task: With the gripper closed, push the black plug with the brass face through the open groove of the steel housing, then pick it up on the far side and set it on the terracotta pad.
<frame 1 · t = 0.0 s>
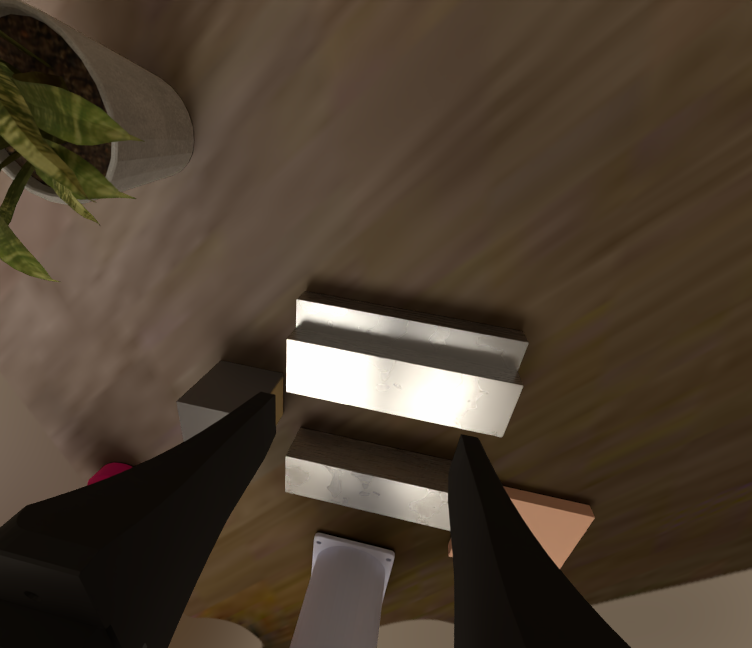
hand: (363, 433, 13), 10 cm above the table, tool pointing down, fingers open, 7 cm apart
housing: (389, 417, 25), on the table
plug: (253, 387, 26), on the table
house plant: (147, 149, 20), on the table
pepper mill: (132, 481, 35), on the table
pad: (512, 526, 28), on the table
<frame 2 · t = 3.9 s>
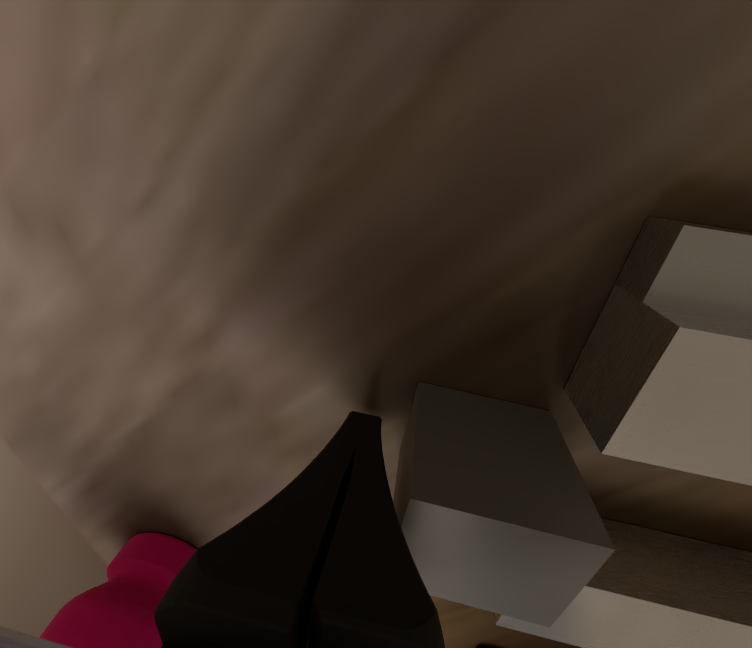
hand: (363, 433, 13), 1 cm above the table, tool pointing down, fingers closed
housing: (721, 488, 13), on the table
plug: (468, 434, 13), on the table, touching gripper
pepper mill: (175, 558, 22), on the table
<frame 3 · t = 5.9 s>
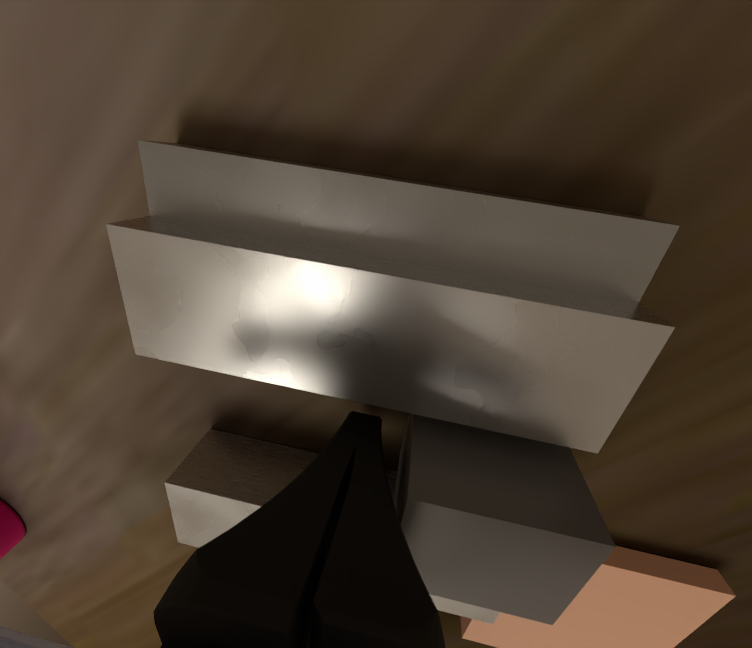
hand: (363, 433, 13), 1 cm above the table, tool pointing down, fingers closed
housing: (361, 411, 14), on the table
plug: (468, 432, 13), on the table, touching gripper
pad: (570, 596, 17), on the table
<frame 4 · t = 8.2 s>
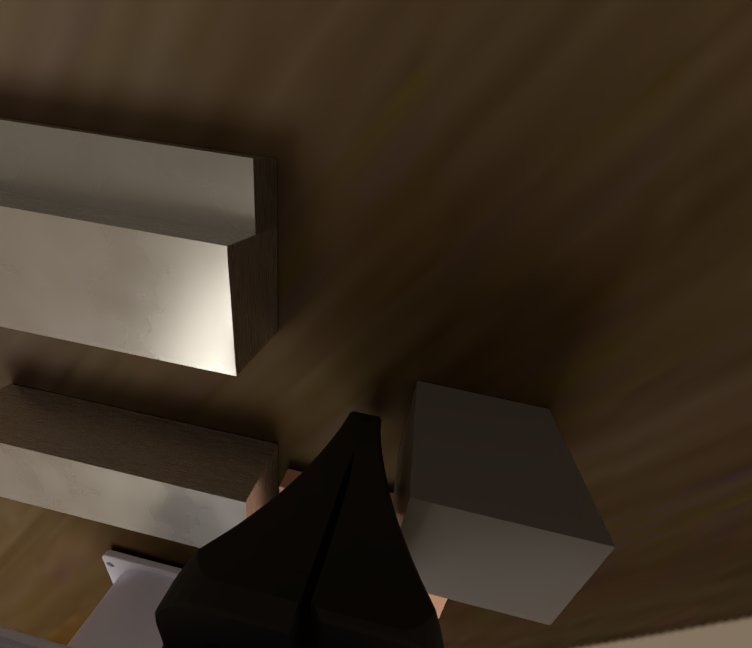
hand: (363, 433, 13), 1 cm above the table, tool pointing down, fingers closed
housing: (126, 361, 15), on the table
plug: (467, 433, 13), on the table, touching gripper
pad: (367, 545, 18), on the table
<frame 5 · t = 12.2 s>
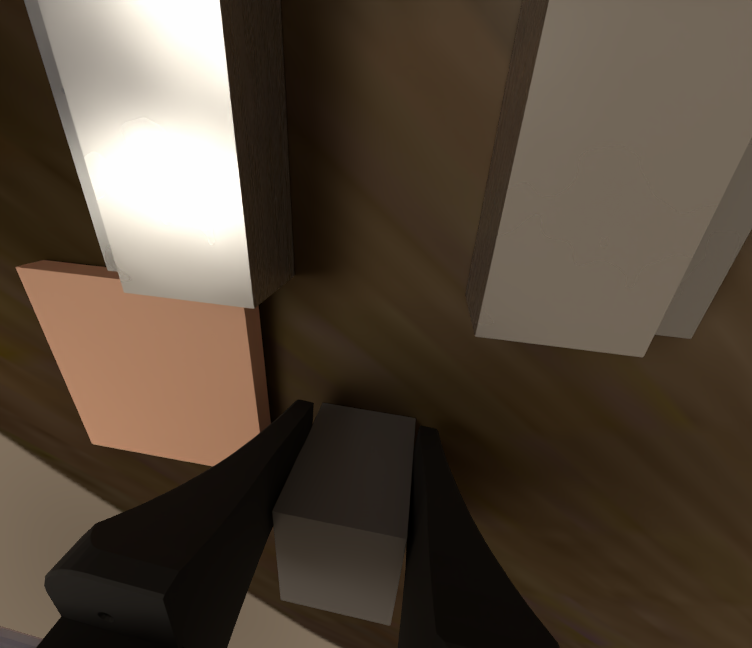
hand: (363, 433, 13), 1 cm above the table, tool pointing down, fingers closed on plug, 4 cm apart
housing: (394, 23, 8), on the table
plug: (365, 452, 15), on the table, touching gripper
pad: (170, 369, 15), on the table
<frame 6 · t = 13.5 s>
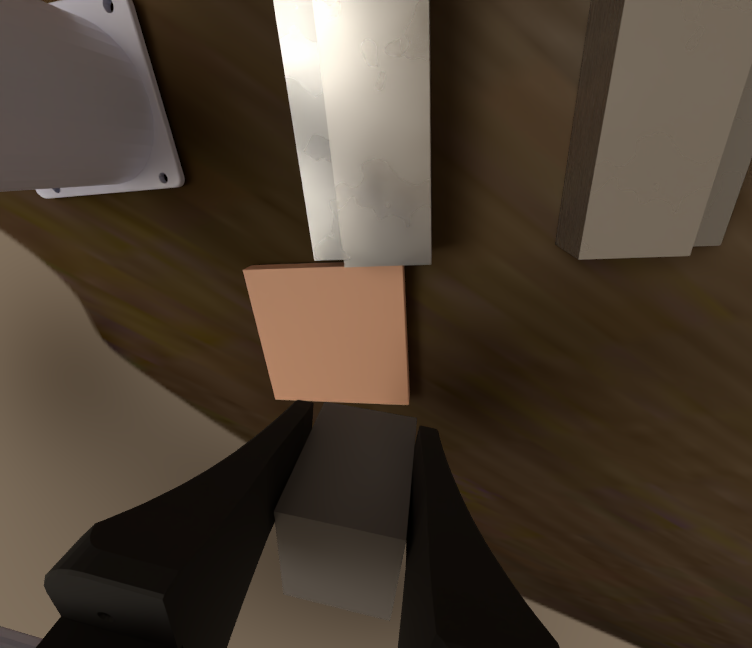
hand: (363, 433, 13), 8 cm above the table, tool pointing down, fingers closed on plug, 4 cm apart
housing: (502, 80, 14), on the table
plug: (366, 450, 15), point 7 cm above the table, touching gripper
pad: (334, 333, 21), on the table
when the fingers open (3 cm above the table, at t = 15.1 s): plug stays where it is, resting on pad.
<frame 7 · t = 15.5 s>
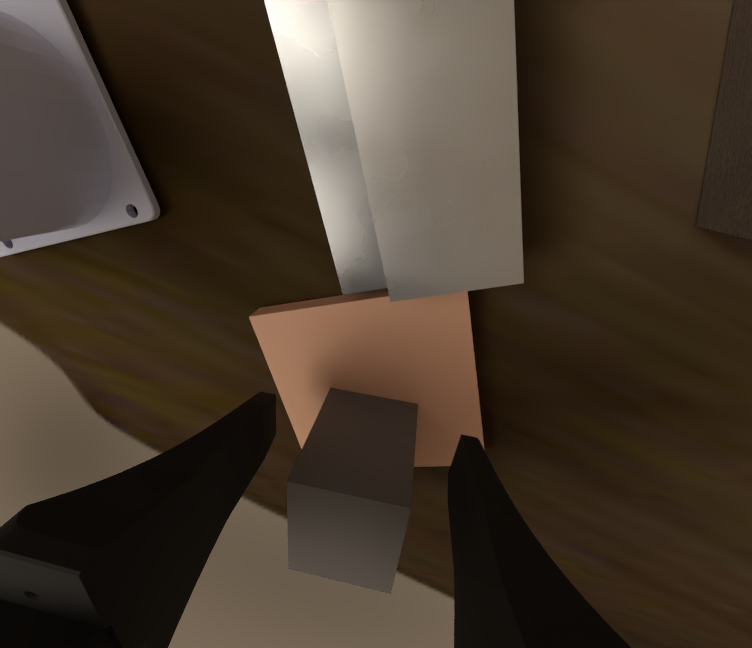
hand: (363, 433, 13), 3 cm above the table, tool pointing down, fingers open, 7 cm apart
plug: (368, 436, 16), point 1 cm above the table, touching pad
pad: (376, 381, 16), on the table
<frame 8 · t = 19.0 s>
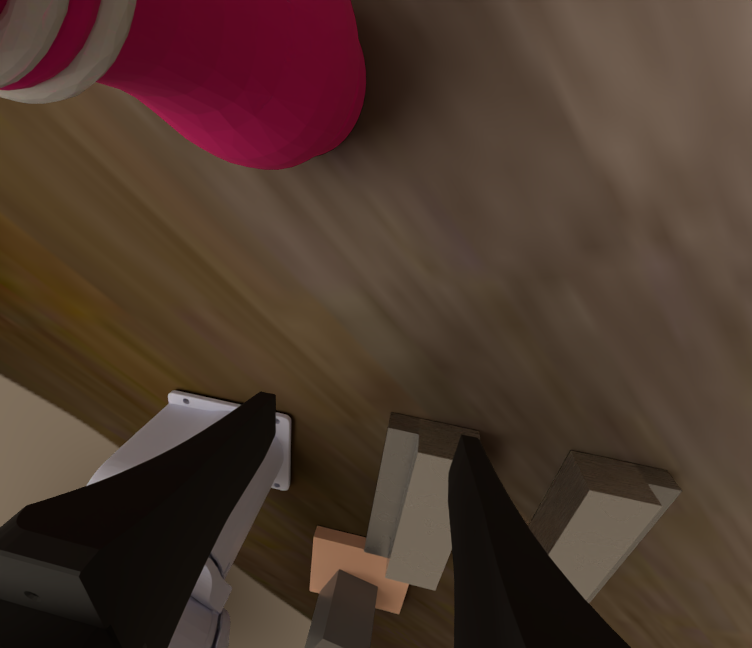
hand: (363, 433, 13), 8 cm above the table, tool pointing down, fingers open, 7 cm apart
housing: (493, 507, 25), on the table
plug: (347, 589, 32), point 1 cm above the table, touching pad
pepper mill: (301, 82, 15), on the table
pad: (360, 565, 31), on the table
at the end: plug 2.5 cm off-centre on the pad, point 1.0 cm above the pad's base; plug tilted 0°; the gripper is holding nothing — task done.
